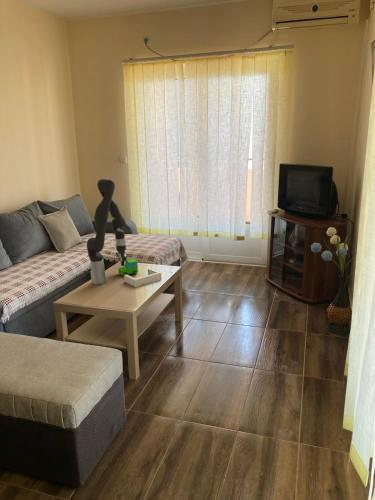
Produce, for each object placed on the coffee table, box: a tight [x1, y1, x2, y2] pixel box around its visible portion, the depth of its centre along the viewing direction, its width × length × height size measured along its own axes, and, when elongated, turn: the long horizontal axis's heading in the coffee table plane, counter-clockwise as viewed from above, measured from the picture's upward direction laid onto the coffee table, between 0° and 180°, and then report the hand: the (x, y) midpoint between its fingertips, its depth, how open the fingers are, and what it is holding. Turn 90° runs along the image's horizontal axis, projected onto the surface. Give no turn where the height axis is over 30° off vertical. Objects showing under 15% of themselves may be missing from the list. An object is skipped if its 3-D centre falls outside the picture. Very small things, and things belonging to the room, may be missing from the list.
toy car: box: [117, 258, 139, 276], centre depth 302 cm, size 10×13×10 cm
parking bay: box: [123, 268, 162, 288], centre depth 286 cm, size 22×15×5 cm
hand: (122, 265), depth 308 cm, fingers closed
